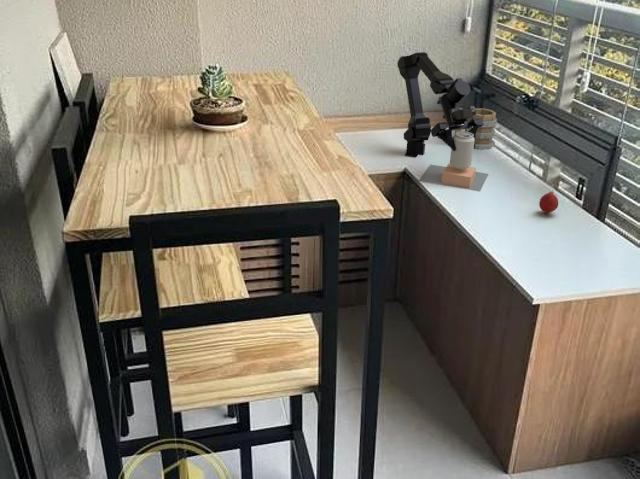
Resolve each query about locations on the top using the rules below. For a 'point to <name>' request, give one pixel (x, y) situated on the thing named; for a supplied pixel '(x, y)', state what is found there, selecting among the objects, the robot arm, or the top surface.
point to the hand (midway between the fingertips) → (464, 149)
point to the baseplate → (435, 177)
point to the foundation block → (458, 176)
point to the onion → (548, 202)
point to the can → (462, 150)
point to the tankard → (484, 128)
